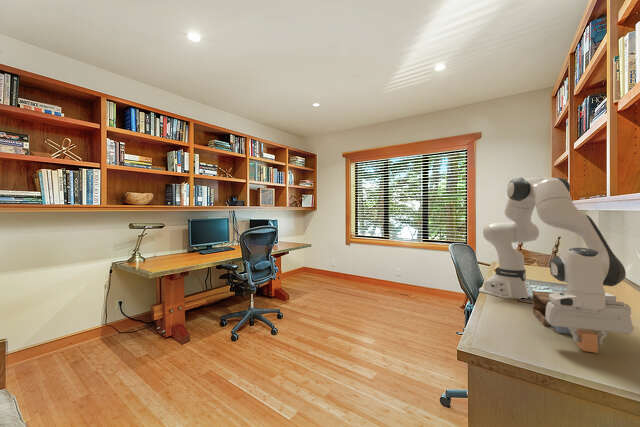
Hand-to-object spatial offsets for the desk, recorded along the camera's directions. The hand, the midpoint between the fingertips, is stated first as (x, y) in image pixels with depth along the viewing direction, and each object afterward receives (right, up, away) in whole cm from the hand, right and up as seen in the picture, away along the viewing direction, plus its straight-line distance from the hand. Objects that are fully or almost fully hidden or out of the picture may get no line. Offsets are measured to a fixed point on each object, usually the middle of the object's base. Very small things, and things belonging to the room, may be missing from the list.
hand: (587, 342), depth 85 cm
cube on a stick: (+4, -2, +8) cm, 9 cm away
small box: (+29, -2, +23) cm, 38 cm away
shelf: (+9, -2, +22) cm, 24 cm away
